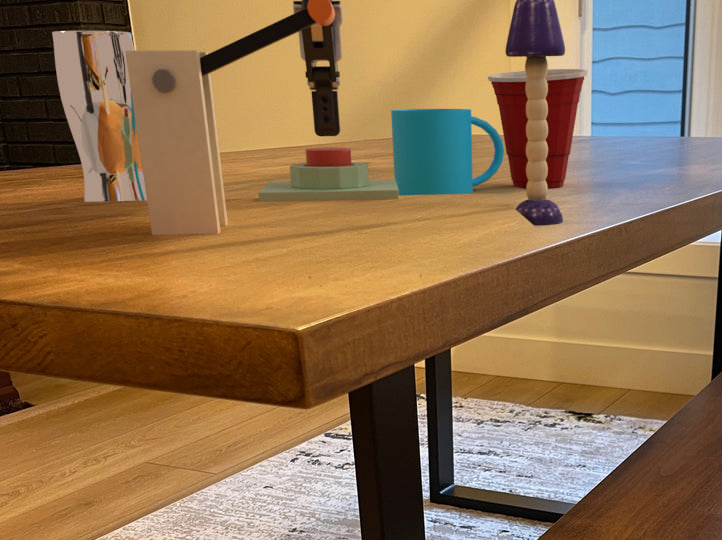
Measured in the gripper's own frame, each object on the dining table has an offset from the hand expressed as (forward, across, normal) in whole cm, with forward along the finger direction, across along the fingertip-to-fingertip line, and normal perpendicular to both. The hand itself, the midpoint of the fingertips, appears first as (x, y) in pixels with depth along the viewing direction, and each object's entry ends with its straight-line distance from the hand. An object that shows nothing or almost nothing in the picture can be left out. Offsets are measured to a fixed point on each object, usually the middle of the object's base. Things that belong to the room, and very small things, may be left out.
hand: (327, 135), depth 89 cm
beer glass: (+7, -5, -20) cm, 22 cm away
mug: (+7, -14, +12) cm, 20 cm away
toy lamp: (+7, +12, +17) cm, 22 cm away
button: (+3, 0, 0) cm, 3 cm away
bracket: (+6, +22, -9) cm, 25 cm away
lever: (-5, +22, -4) cm, 23 cm away
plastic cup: (+7, -19, +22) cm, 30 cm away
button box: (+6, 0, 0) cm, 7 cm away
